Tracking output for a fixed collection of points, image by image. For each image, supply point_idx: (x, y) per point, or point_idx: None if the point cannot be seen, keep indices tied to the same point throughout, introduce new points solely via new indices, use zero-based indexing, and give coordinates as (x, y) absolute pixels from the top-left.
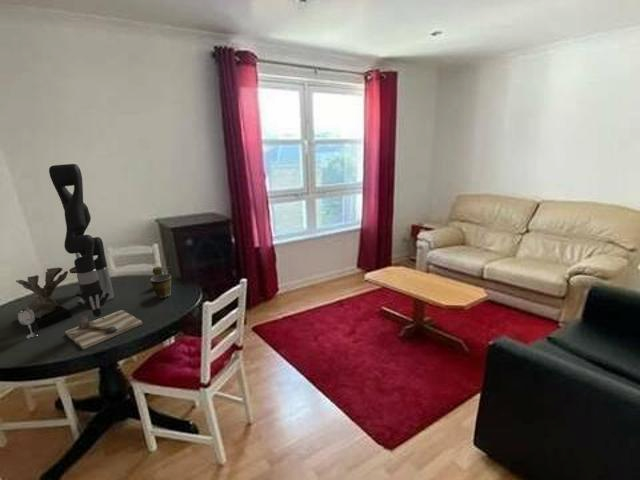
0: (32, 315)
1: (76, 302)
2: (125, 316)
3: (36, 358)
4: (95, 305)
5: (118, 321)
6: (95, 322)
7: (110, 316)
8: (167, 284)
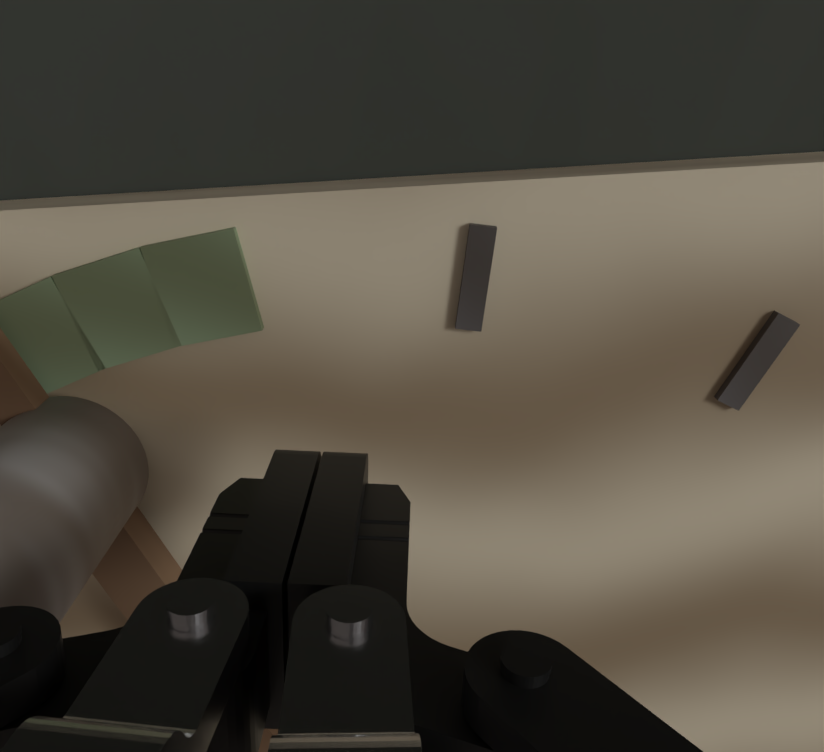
0: None
1: None
2: (803, 572)
3: None
4: (295, 681)
5: (611, 661)
6: (288, 336)
7: (626, 306)
8: None
